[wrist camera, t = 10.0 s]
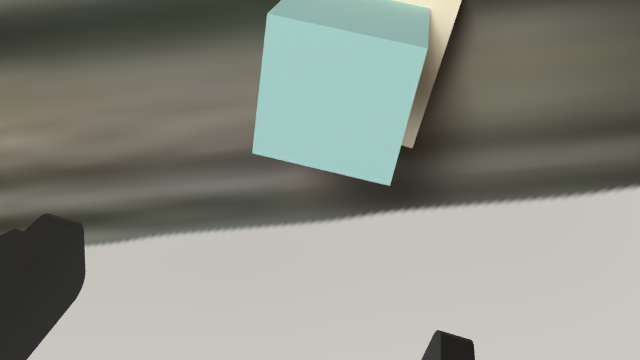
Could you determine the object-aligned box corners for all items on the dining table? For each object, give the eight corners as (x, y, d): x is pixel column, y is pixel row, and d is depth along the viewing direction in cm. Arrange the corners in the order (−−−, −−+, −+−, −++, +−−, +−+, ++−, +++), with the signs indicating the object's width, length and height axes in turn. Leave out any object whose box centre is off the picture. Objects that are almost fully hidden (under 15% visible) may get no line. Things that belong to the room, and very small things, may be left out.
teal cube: (301, -19, 25) (267, 13, 20) (430, 8, 25) (427, 48, 20) (285, 99, 28) (252, 153, 23) (398, 125, 28) (389, 185, 23)
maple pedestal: (304, -59, 27) (290, -50, 24) (461, -20, 27) (463, -7, 24) (279, 88, 31) (265, 109, 29) (414, 124, 31) (412, 148, 28)
